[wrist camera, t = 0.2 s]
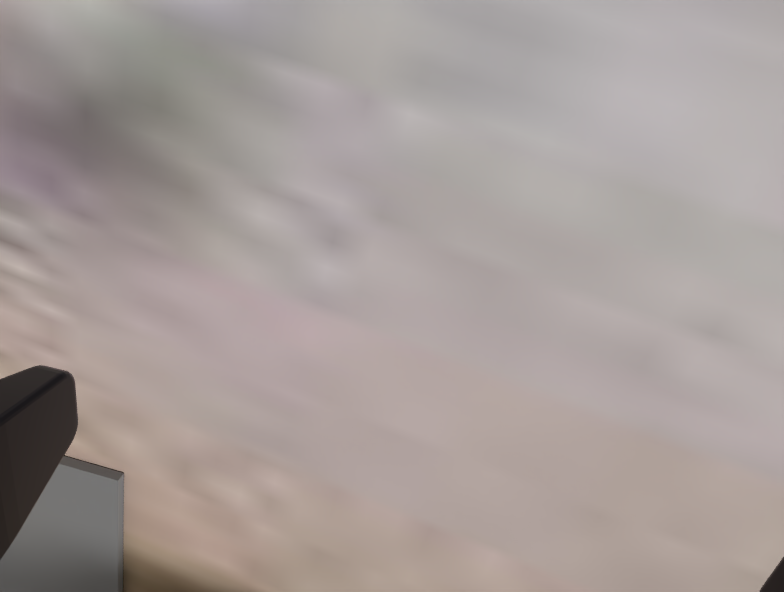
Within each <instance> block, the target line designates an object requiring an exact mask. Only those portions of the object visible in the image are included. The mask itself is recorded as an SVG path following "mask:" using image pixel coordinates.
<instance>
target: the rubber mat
mask: <svg viewBox="0 0 784 592" xmlns="http://www.w3.org/2000/svg"><path fill="white" fill-rule="evenodd" d="M123 513H124V473H122V472H118V471H115V470H111V469H108V468H104V467H101V466H97V465H94V464H90V463H87V462H83V461H80V460H76V459H73V458H70V457H66V456H63V458H62V460H61V461H60V463H59V465H58V467H57V468H56V470H55V472H54V473H53V475H52V477H51V478H50V480H49V482H48V484H47V485H46V487H45V489H44V490H43V492H42V494H41V495H40V497H39V499H38V501H37V502H36V504H35V506H34V507H33V509H32V511H31V513H30V514H29V516H28V518H27V519H26V521H25V523H24V524H23V526H22V528H21V530H20V531H19V533H18V534H17V536H16V538H15V539H14V541H13V542H12V544H11V546H10V547H9V548H8V550H7V551H6V553H5V554H4V556H3V557H2V558H1V560H0V592H123Z"/></svg>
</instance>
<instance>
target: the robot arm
mask: <svg viewBox="0 0 784 592" xmlns="http://www.w3.org/2000/svg"><path fill="white" fill-rule="evenodd" d="M77 426H78V414H77V402H76V389H75V380H74V377H73V376H72V374H71V373H69V372H68V371H64V370H60V369H56V368H52V367H48V366H41V365H39V366H35V367H31V368H29V369H26V370H23V371H21V372H18V373H15V374H13V375H10V376H7V377H5V378H2V379H0V560H1V558H2V557H3V556H4V554H5V553H6V551H7V550H8V548H9V547H10V546H11V544H12V542H13V541H14V539H15V538H16V536H17V534H18V533H19V531H20V530H21V528H22V526H23V524H24V523H25V521H26V519H27V518H28V516H29V514H30V513H31V511H32V509H33V507H34V506H35V504H36V502H37V501H38V499H39V497H40V495H41V494H42V492H43V490H44V489H45V487H46V485H47V484H48V482H49V480H50V478H51V477H52V475H53V473H54V472H55V470H56V468H57V467H58V465H59V463H60V461H61V460H62V458H63V456H64V455H65V453H66V451H67V449H68V448H69V446H70V444H71V443H72V441H73V439H74V436H75V434H76V431H77ZM760 592H784V557H783V558H782V560H781V561H780V563H779V564H778V565H777V567H776V568H775V569H774V571H773V572H772V574H771V575H770V576H769V578H768V579H767V581H766V582H765V583H764V585H763V586H762V588H761V590H760Z"/></svg>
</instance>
